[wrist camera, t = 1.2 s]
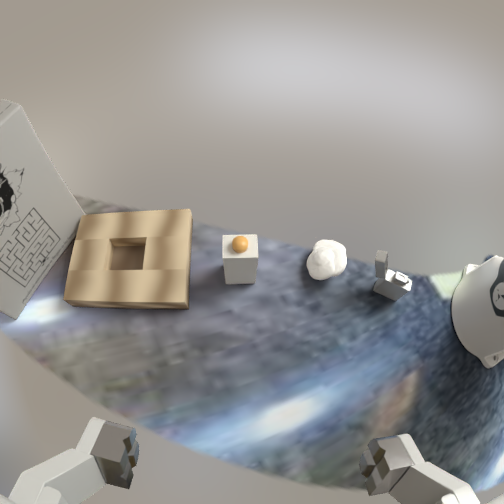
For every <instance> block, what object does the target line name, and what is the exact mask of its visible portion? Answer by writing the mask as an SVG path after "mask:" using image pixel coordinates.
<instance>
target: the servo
mask: <svg viewBox="0 0 504 504" xmlns="http://www.w3.org/2000/svg"><path fill="white" fill-rule="evenodd" d="M223 265H224V273H225V282H226V284H253V283H255V281H256V273H257V265H258V243H257V235H256V234H253V235H223Z"/></svg>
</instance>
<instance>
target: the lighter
mask: <svg viewBox="0 0 504 504" xmlns="http://www.w3.org/2000/svg"><path fill="white" fill-rule="evenodd" d="M375 269H376V277H378V278H379V279H378V280H377V281H376V282H375V286H374V289H373V290H374V291H375V292H377V293H379V294H381V295H383V296H385V297H388V298H390V299H392V300H394V301H397V300H398V299H399V298H401V297H402V296H403V295H405V294H406V293H407V292H409V291H410V289H411V284H412V281H411V280H410V279H408V277H407V276H406V275H404V274H402V273H400V272H398V271H397V272H396V273H395V272H393V271H391V270H388V252H387V251H381V250H378V251H377V255H376V258H375Z"/></svg>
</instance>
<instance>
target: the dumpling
mask: <svg viewBox="0 0 504 504" xmlns="http://www.w3.org/2000/svg"><path fill="white" fill-rule="evenodd" d="M332 240H333V239H332ZM332 240H321V241H318V242H317V243H316V244H315V245H314V247H313V251H312V253H311V254H310V256H309V257H308V259H307V264H306V265H307V269H308V271H309V274H310V276H311V277H312V278H314V279H317V280H324V279H328V278H329V277H331V276H332V277H335V276H338V275H340V274H341V273H342V272H343V271H344V269H345V267H346V264H347V257H346V249H345V247H344V246H343V245H342V244H340V243H338V242H335V241H334V240H333V241H332Z"/></svg>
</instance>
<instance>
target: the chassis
mask: <svg viewBox="0 0 504 504" xmlns="http://www.w3.org/2000/svg"><path fill="white" fill-rule="evenodd" d="M192 225H193V219H192V215H191V210H190V209H176V210H155V211H137V212H120V213H106V214H92V215H82V216H81V220H80V223H79V227H78V231H77V235H76V239H75V243H74V247H73V252H72V256H71V261H70V265H69V270H68V275H67V281H66V286H65V292H64V298H63V300H64V301H66V302H67V303H69V304H70V305H72V306H74V307H95V308H124V309H189V284H190V261H191V241H192Z"/></svg>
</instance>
